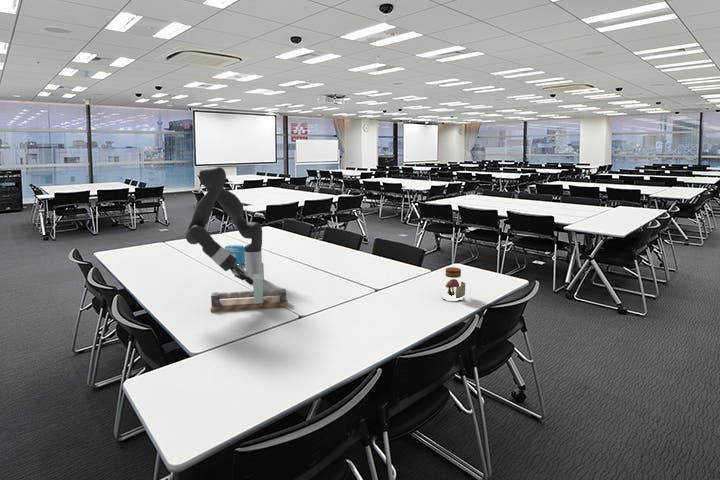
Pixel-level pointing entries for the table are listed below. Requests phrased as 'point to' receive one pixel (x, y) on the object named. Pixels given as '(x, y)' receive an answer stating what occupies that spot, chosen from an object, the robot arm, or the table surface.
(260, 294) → the pale green rectangular block
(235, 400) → the table surface
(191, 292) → the table surface
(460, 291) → the jar with lid
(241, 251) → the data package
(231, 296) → the pipe stand
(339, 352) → the table surface
